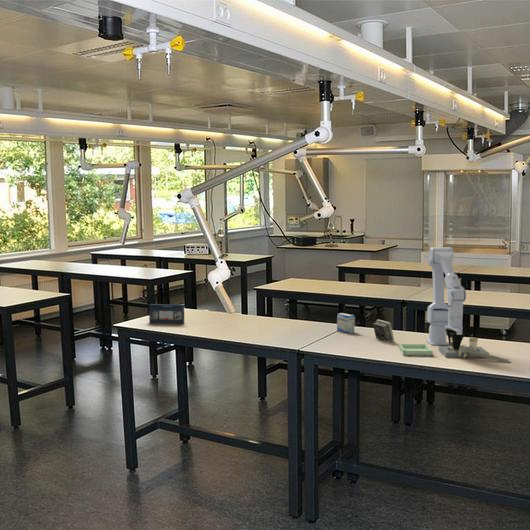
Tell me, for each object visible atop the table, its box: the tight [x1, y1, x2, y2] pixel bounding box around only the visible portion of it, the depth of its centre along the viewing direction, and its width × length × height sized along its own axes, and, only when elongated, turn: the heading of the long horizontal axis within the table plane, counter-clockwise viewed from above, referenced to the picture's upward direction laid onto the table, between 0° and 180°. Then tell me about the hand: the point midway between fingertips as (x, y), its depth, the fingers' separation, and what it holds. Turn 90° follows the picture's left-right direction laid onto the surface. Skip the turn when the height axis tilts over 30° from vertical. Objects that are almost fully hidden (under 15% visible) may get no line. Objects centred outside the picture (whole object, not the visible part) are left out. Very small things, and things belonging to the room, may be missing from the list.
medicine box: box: [336, 312, 356, 334], centre depth 299 cm, size 8×4×9 cm, turn 42°
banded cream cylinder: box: [449, 337, 458, 351], centre depth 257 cm, size 3×3×7 cm
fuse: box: [468, 336, 478, 350], centre depth 257 cm, size 3×3×7 cm
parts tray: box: [397, 343, 434, 357], centre depth 260 cm, size 12×12×2 cm
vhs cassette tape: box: [148, 303, 185, 325], centre depth 316 cm, size 18×3×10 cm, turn 83°
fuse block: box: [438, 345, 490, 359], centre depth 257 cm, size 11×18×2 cm, turn 88°
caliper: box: [458, 344, 512, 364], centre depth 248 cm, size 20×1×6 cm, turn 71°
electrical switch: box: [372, 319, 395, 342], centre depth 282 cm, size 9×5×9 cm, turn 29°
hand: (454, 347), depth 257 cm, fingers open, 6 cm apart
